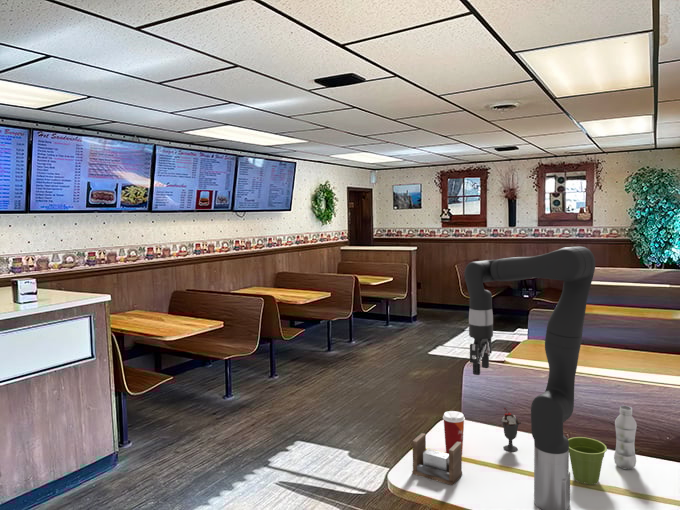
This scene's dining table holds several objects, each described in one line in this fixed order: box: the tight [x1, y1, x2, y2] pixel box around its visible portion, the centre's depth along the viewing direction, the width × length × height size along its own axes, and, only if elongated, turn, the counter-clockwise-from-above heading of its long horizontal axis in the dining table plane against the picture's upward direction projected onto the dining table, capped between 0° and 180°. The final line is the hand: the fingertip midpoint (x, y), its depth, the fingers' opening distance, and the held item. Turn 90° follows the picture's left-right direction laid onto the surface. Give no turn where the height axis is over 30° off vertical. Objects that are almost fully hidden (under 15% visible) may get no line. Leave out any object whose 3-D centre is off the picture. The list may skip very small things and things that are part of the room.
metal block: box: [423, 448, 449, 472], centre depth 169 cm, size 8×4×6 cm, turn 56°
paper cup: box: [442, 410, 466, 454], centre depth 184 cm, size 8×8×14 cm
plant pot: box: [567, 436, 608, 486], centre depth 164 cm, size 12×12×11 cm
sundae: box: [500, 407, 521, 453], centre depth 185 cm, size 7×7×15 cm
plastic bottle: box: [613, 405, 638, 470], centre depth 170 cm, size 6×7×20 cm
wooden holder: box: [411, 432, 463, 486], centre depth 169 cm, size 14×8×11 cm, turn 56°
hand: (481, 371), depth 170 cm, fingers open, 8 cm apart
